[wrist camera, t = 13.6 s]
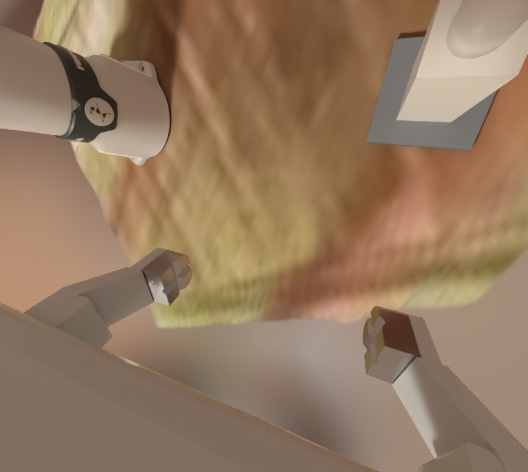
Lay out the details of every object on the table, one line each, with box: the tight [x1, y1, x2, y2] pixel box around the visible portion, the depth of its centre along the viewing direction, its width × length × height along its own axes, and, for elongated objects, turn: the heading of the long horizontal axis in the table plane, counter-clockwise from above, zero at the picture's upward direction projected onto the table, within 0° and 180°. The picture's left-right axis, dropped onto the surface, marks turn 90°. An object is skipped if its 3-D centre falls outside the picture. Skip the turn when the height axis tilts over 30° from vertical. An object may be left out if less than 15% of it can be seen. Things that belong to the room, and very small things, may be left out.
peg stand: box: [367, 36, 498, 151], centre depth 19 cm, size 10×10×8 cm
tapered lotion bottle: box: [397, 0, 528, 122], centre depth 16 cm, size 5×5×13 cm
